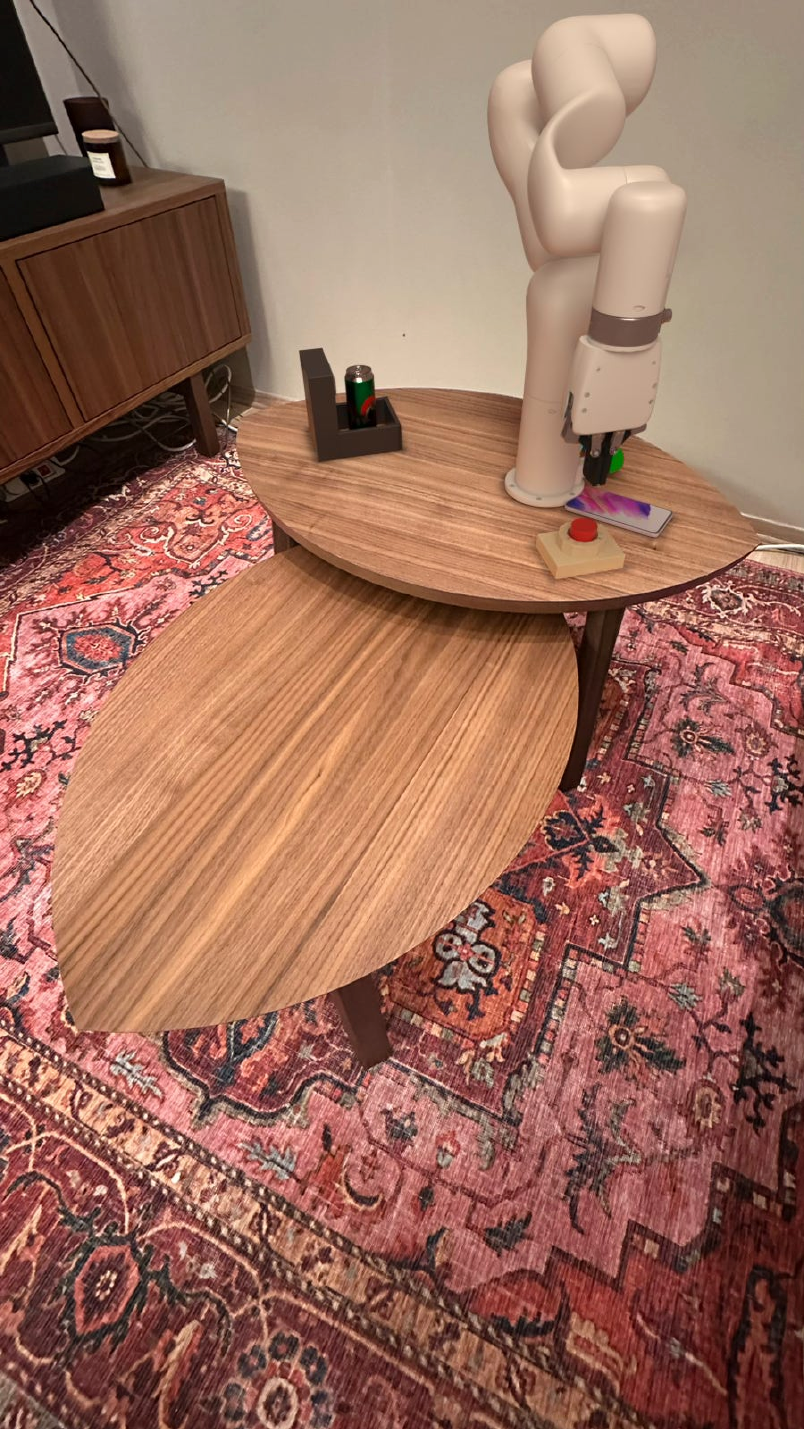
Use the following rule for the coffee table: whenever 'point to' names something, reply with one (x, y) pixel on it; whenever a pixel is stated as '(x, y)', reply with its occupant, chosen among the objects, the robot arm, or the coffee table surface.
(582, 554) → the control block
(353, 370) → the soda can
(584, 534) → the button
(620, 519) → the smartphone
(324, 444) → the brown can holder
